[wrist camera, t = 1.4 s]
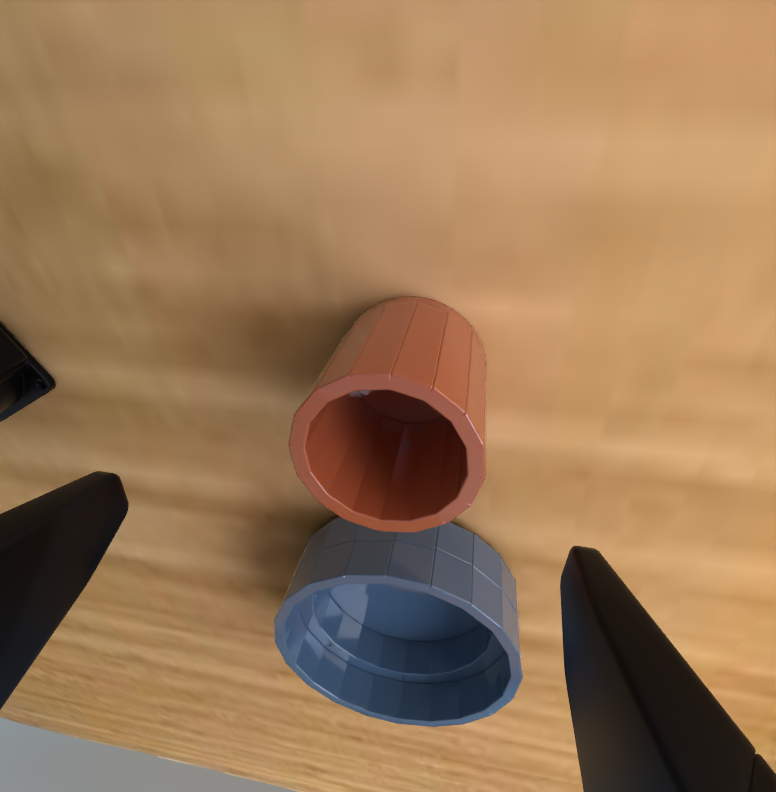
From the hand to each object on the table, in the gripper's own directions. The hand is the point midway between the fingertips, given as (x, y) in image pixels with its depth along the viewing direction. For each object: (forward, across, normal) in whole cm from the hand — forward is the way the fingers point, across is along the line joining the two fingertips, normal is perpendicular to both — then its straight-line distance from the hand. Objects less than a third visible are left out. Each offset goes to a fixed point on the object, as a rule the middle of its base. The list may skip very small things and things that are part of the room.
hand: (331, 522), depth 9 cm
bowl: (+13, -1, +18) cm, 22 cm away
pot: (+13, 0, +3) cm, 13 cm away
